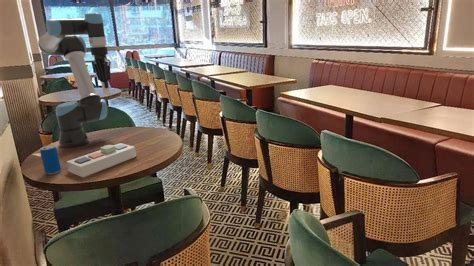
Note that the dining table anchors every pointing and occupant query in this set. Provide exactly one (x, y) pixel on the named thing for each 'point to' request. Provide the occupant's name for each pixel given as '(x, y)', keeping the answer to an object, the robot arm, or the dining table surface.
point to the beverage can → (50, 159)
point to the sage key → (107, 149)
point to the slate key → (120, 147)
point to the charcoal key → (82, 160)
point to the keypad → (101, 161)
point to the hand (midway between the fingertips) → (106, 94)
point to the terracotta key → (95, 155)
